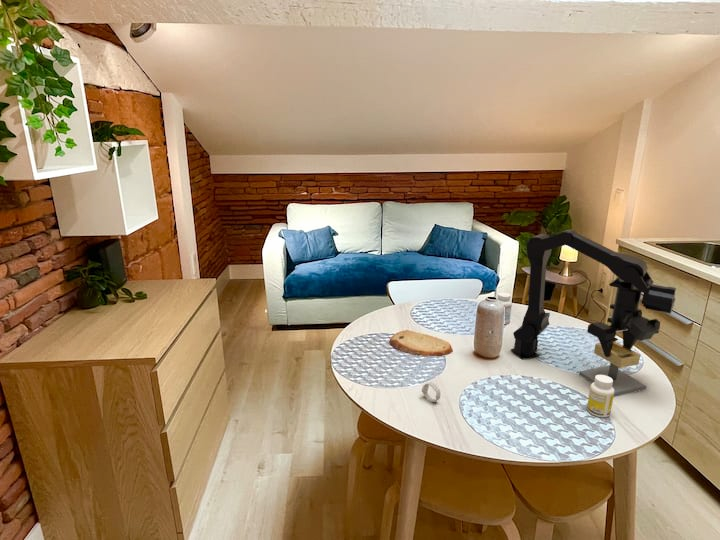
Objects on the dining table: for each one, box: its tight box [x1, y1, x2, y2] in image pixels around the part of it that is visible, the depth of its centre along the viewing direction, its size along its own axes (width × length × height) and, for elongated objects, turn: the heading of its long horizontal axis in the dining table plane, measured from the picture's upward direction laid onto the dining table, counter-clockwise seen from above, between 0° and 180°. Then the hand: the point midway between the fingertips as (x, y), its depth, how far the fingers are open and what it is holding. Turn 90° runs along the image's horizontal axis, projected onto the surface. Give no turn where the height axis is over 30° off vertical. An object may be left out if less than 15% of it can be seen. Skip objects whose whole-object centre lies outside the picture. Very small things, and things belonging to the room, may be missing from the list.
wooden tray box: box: [593, 341, 641, 369], centre depth 123 cm, size 7×9×3 cm
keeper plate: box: [578, 362, 647, 397], centre depth 125 cm, size 12×12×6 cm
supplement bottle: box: [586, 375, 615, 418], centre depth 111 cm, size 5×5×10 cm
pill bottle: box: [495, 292, 513, 325], centre depth 165 cm, size 6×6×11 cm
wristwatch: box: [421, 381, 441, 403], centre depth 117 cm, size 3×5×5 cm, turn 41°
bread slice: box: [388, 329, 454, 357], centre depth 147 cm, size 18×18×4 cm
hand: (616, 354), depth 123 cm, fingers closed on wooden tray box, 7 cm apart
